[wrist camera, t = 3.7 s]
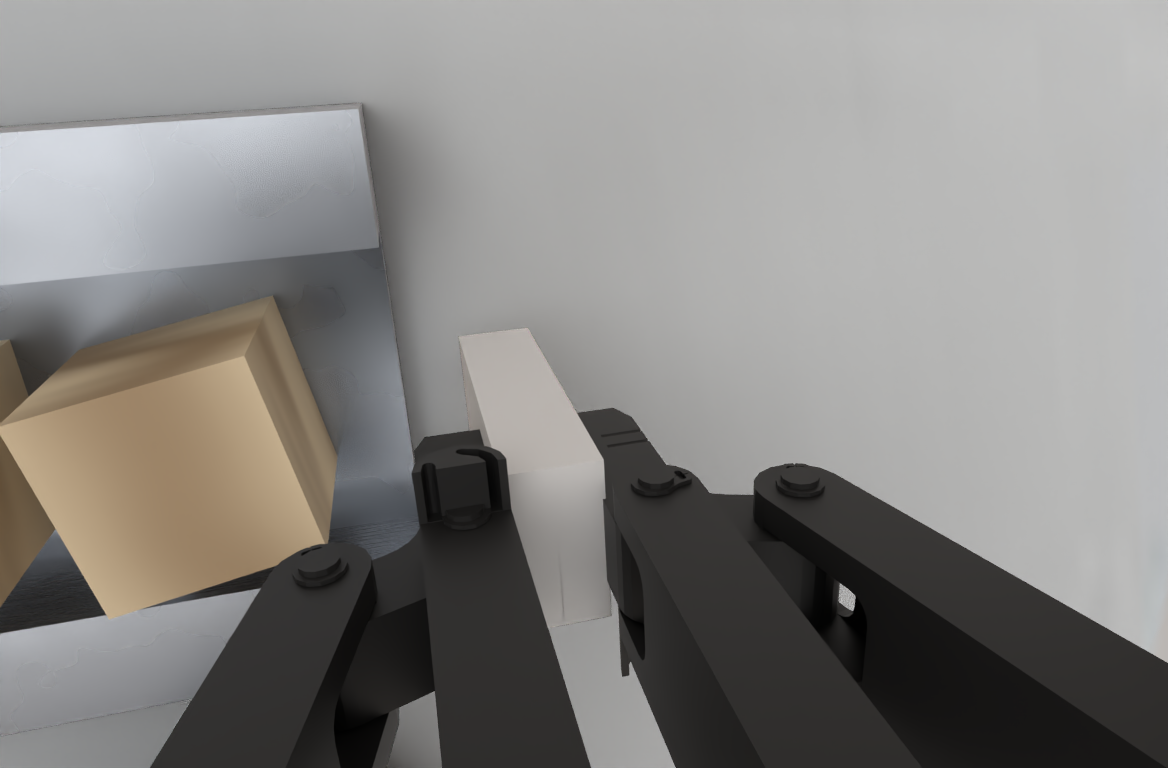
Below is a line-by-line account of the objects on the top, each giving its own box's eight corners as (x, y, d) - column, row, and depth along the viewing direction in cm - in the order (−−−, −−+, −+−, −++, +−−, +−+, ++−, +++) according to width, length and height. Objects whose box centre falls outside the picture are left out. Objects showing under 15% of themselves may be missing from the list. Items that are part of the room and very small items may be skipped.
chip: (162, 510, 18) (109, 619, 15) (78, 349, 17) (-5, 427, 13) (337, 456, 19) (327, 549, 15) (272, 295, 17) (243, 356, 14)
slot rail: (-223, 694, 19) (-324, 799, 16) (-510, 160, 14) (-719, 181, 12) (431, 577, 22) (439, 650, 19) (361, 102, 17) (357, 109, 15)
